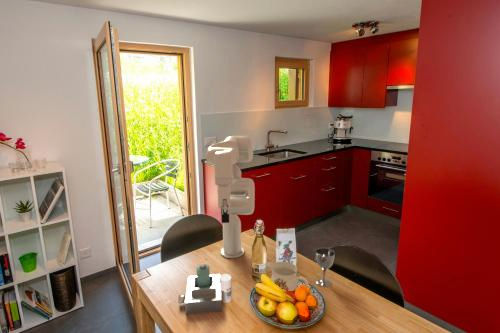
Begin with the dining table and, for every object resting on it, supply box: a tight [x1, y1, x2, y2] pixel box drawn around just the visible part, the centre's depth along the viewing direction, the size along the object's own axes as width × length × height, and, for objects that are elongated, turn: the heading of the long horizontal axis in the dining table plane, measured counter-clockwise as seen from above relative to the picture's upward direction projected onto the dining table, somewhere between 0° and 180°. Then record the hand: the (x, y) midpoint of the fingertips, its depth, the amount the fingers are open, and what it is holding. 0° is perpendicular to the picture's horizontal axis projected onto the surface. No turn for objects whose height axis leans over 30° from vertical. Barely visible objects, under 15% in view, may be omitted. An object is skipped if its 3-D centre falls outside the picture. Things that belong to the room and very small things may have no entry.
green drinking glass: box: [196, 263, 211, 288], centre depth 127 cm, size 5×5×10 cm
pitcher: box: [265, 261, 309, 291], centre depth 128 cm, size 11×18×14 cm, turn 67°
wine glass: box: [315, 247, 336, 288], centre depth 138 cm, size 8×8×15 cm
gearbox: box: [178, 273, 223, 315], centre depth 129 cm, size 18×17×8 cm
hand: (225, 217), depth 135 cm, fingers open, 9 cm apart
